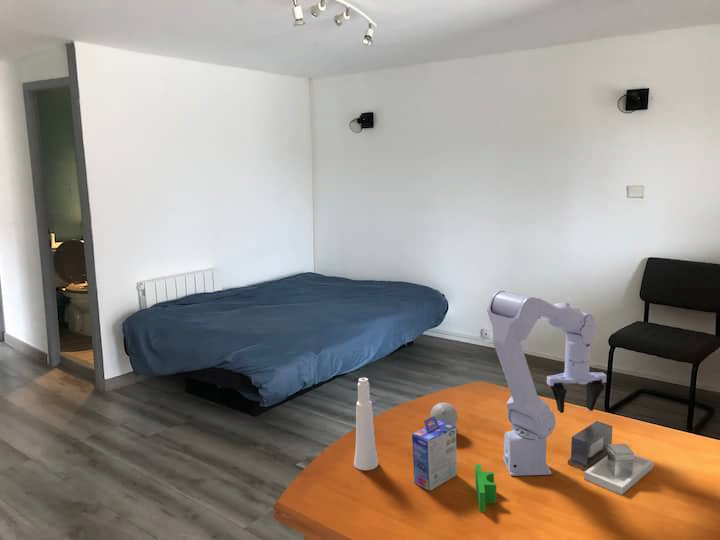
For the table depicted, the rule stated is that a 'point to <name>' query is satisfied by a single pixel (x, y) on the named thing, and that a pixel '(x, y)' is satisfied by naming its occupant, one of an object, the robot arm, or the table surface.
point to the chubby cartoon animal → (445, 413)
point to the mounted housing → (590, 445)
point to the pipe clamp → (484, 487)
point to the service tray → (618, 484)
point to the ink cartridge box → (434, 454)
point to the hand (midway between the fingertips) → (575, 410)
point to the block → (620, 460)
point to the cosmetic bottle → (365, 430)
